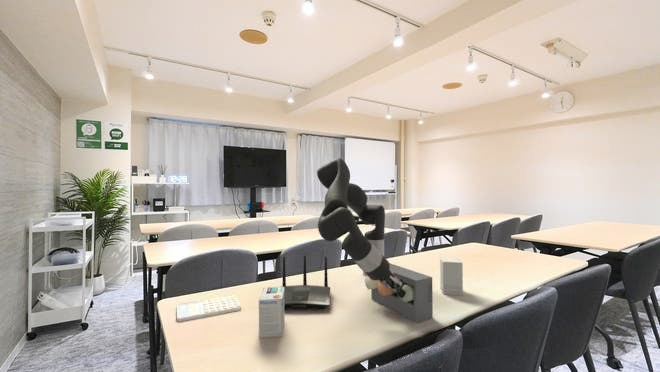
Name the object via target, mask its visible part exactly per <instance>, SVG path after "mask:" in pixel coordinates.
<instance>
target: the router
mask: <svg viewBox="0 0 660 372" xmlns="http://www.w3.org/2000/svg"><path fill="white" fill-rule="evenodd" d="M327 259H328V258H327V255H325V256H324V282H323V283H324V284H323V285H315V284H314V285H310V284H308V283H307V280H308V279H307V257H306V255H305V254H304V255H303V274H302V275H303V278H302V284H297V285H295V284H294V285H287V280H286V279H287V276H286V275H287V274H286V256H285V255H283V256H282V285H281V287H284V310H294V311H299V310H300V311H301V310H304V311H305V310H310V309H311V310H317V309H318V310H324V309H326V308H327V306H330V305H331V303H330V300H331V286H329V283H328V260H327ZM307 284H308V285H307Z"/></svg>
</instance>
